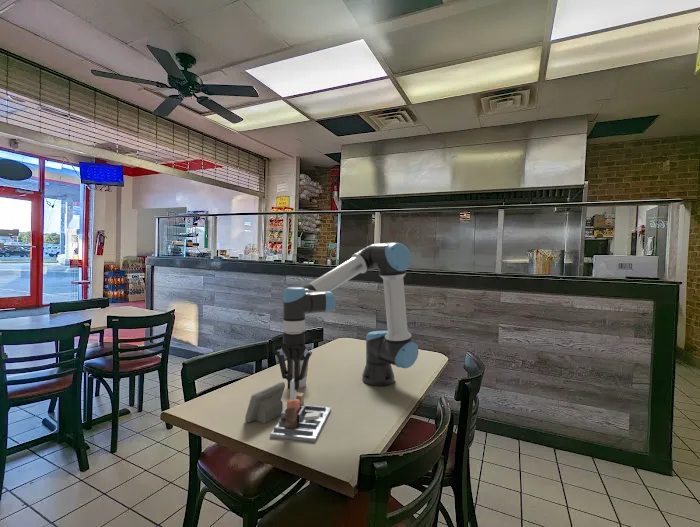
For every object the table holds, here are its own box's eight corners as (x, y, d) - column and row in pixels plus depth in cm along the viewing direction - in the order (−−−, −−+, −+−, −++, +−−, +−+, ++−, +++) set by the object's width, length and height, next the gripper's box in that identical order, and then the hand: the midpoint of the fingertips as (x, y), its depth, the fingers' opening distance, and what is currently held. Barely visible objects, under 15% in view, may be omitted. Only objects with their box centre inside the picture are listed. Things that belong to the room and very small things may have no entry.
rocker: (320, 415, 120) (320, 411, 120) (318, 419, 117) (318, 415, 117) (307, 416, 120) (306, 413, 120) (304, 420, 118) (304, 417, 118)
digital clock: (277, 405, 133) (277, 378, 133) (291, 412, 127) (292, 384, 127) (239, 419, 121) (239, 390, 121) (253, 428, 115) (253, 397, 115)
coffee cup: (304, 389, 149) (304, 355, 148) (285, 387, 150) (285, 354, 150) (311, 382, 157) (311, 350, 157) (292, 380, 159) (292, 348, 159)
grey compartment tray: (330, 410, 129) (330, 399, 129) (315, 442, 107) (315, 428, 107) (292, 407, 131) (292, 396, 131) (270, 437, 110) (270, 423, 110)
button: (301, 407, 122) (301, 399, 121) (297, 413, 117) (297, 404, 117) (289, 406, 122) (289, 398, 122) (285, 411, 118) (285, 403, 118)
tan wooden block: (303, 408, 127) (303, 393, 127) (301, 411, 125) (301, 396, 124) (296, 407, 128) (296, 392, 128) (293, 411, 125) (293, 395, 125)
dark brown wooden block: (296, 425, 114) (297, 408, 114) (294, 430, 111) (294, 412, 111) (288, 425, 115) (288, 408, 115) (285, 429, 112) (285, 412, 112)
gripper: (314, 330, 122) (314, 395, 122) (280, 328, 124) (279, 392, 124) (308, 335, 114) (308, 404, 115) (272, 333, 116) (271, 401, 117)
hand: (293, 398), depth 120 cm, fingers closed
